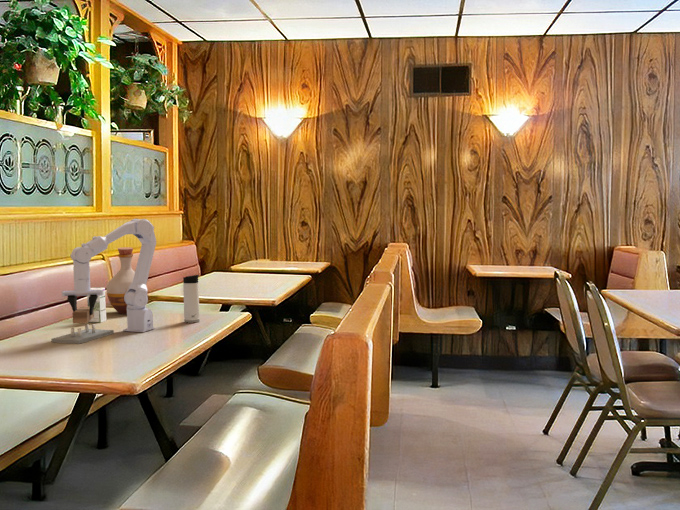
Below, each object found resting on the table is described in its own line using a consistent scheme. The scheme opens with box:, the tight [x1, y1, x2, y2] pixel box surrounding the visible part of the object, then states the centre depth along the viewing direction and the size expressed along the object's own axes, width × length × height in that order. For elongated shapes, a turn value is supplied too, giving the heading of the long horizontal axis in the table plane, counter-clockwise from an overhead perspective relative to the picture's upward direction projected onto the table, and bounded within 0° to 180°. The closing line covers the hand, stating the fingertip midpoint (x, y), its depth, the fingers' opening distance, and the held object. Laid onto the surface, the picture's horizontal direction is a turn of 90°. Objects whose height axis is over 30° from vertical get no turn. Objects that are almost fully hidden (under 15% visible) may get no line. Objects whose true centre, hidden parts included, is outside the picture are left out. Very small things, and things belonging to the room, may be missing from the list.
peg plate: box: [51, 323, 115, 345], centre depth 252 cm, size 12×20×4 cm, turn 162°
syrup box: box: [86, 287, 107, 324], centre depth 285 cm, size 6×6×14 cm
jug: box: [105, 246, 148, 315], centre depth 308 cm, size 20×18×30 cm
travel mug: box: [182, 274, 200, 324], centre depth 282 cm, size 6×7×20 cm
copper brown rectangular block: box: [72, 306, 94, 324], centre depth 252 cm, size 12×5×4 cm, turn 9°
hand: (83, 314), depth 252 cm, fingers closed on copper brown rectangular block, 5 cm apart
